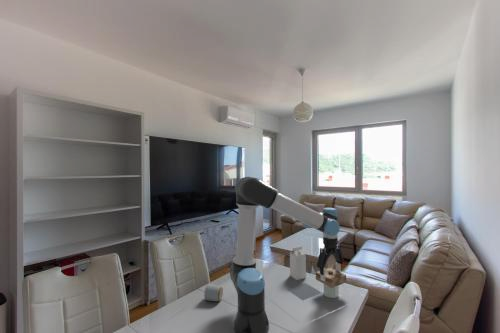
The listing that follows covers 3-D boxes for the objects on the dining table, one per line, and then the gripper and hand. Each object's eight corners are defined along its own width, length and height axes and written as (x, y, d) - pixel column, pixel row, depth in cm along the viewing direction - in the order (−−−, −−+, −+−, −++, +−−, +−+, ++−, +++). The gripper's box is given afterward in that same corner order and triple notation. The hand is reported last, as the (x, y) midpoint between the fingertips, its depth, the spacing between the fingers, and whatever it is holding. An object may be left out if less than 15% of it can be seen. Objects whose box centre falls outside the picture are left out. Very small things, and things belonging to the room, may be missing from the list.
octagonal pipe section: (331, 300, 125) (331, 287, 125) (320, 293, 131) (320, 281, 131) (341, 296, 129) (341, 283, 129) (330, 290, 135) (330, 278, 135)
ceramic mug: (219, 304, 122) (219, 289, 122) (204, 303, 124) (204, 288, 124) (225, 294, 133) (225, 280, 133) (211, 292, 134) (210, 279, 134)
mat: (302, 301, 124) (302, 300, 124) (286, 290, 135) (286, 289, 135) (322, 293, 131) (322, 292, 131) (305, 283, 143) (305, 282, 143)
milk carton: (290, 276, 153) (289, 246, 153) (299, 274, 156) (298, 244, 156) (296, 281, 146) (296, 249, 146) (306, 278, 149) (305, 248, 149)
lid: (331, 288, 122) (331, 278, 122) (315, 279, 132) (315, 270, 132) (346, 282, 128) (346, 273, 128) (329, 274, 137) (329, 265, 137)
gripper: (320, 242, 121) (320, 286, 121) (350, 235, 133) (350, 275, 133) (309, 238, 127) (309, 280, 127) (339, 232, 139) (339, 270, 139)
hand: (330, 277), depth 130 cm, fingers open, 11 cm apart
